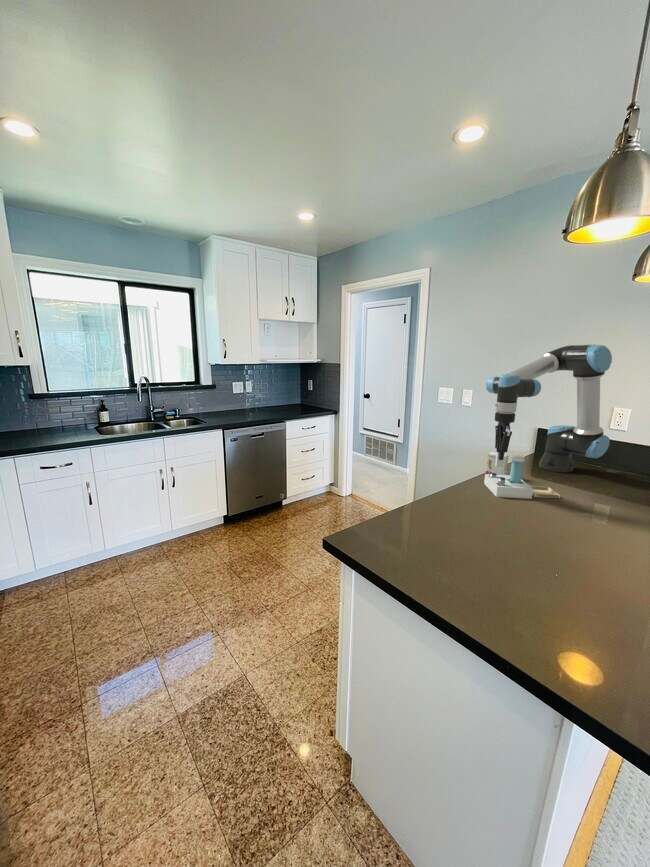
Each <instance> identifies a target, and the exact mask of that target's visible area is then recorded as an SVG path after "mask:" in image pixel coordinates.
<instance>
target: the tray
mask: <svg viewBox="0 0 650 867" xmlns="http://www.w3.org/2000/svg"><path fill="white" fill-rule="evenodd" d="M530 486H531V487H532V488H533V494H532V497H534V498H542V499H543V498H545V499H547V498H548V499H561V494H559V493H558V492H557V491H555V490H554V489H552V488H551V487H549V486H542V485H541V486H539V485H538V486H537V485H536V486H535V485H530Z"/></svg>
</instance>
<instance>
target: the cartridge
mask: <svg viewBox="0 0 650 867" xmlns="http://www.w3.org/2000/svg"><path fill="white" fill-rule="evenodd" d="M525 460H526V458H525V456H524V455H512V457H511V465H510V473H509V475H510V480H509V482H510V483H517V484H521V479H522V477H523V469H524V462H525Z"/></svg>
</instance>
